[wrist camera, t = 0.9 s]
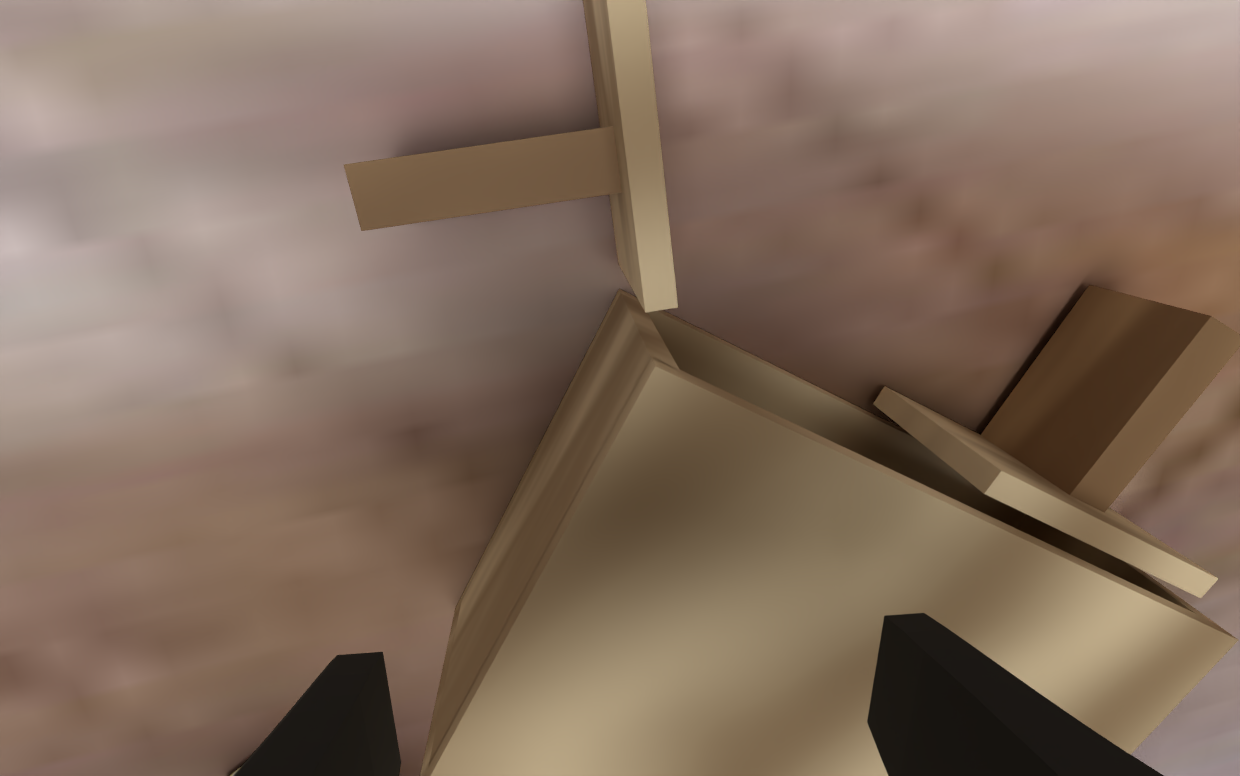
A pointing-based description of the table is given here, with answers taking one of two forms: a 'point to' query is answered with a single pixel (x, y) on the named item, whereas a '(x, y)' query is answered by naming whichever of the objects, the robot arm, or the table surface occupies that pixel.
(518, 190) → the tan wooden block
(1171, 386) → the flap far
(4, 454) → the table surface
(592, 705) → the carton
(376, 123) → the table surface
